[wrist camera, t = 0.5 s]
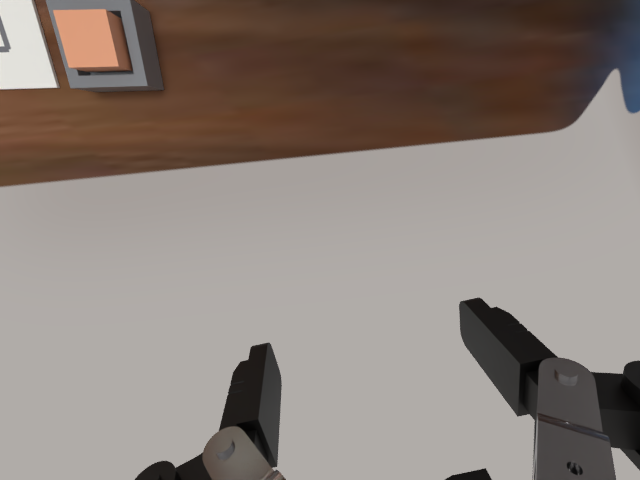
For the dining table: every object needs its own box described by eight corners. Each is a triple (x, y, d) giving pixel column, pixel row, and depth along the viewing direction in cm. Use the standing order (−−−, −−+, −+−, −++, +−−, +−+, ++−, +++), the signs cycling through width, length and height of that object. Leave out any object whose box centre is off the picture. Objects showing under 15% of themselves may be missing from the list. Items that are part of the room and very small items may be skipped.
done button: (73, 19, 28) (52, 10, 26) (121, 18, 28) (105, 9, 26) (86, 72, 30) (68, 67, 27) (132, 70, 30) (118, 66, 27)
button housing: (75, 13, 31) (45, -3, 27) (149, 11, 31) (129, -4, 27) (96, 92, 33) (70, 88, 29) (164, 90, 33) (147, 85, 30)
